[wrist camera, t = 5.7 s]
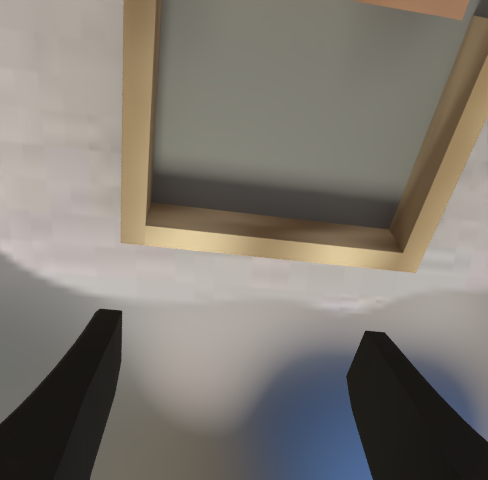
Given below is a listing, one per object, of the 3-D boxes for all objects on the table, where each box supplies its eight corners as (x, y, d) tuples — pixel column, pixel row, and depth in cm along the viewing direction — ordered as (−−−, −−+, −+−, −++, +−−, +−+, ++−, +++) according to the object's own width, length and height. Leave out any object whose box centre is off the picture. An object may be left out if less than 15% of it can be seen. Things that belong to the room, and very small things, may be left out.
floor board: (593, -142, 15) (606, -145, 14) (421, 244, 23) (425, 251, 23) (131, -251, 13) (128, -259, 13) (124, 211, 21) (121, 218, 21)
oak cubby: (497, 19, 17) (528, 28, 15) (401, 248, 23) (415, 272, 21) (134, -47, 15) (124, -45, 14) (128, 218, 21) (120, 242, 19)
